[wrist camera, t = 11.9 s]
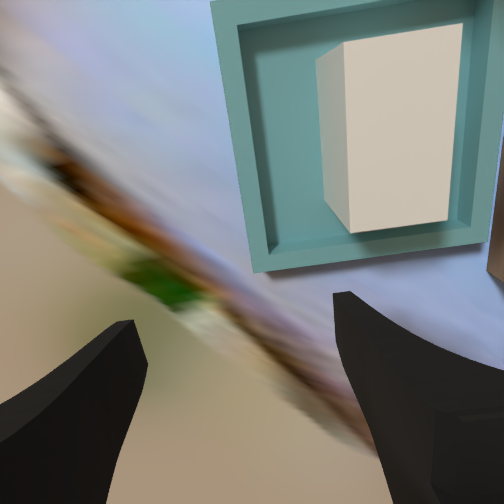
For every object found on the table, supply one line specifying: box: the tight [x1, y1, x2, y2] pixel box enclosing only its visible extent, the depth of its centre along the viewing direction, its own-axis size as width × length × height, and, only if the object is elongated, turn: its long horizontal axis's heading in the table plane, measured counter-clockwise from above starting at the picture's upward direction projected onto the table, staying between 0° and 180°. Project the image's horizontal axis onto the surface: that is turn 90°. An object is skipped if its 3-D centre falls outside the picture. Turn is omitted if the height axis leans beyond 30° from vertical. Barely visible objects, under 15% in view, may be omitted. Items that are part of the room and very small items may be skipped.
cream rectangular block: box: [315, 23, 463, 233], centre depth 16 cm, size 8×4×6 cm, turn 8°
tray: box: [210, 0, 504, 273], centre depth 18 cm, size 13×13×2 cm
